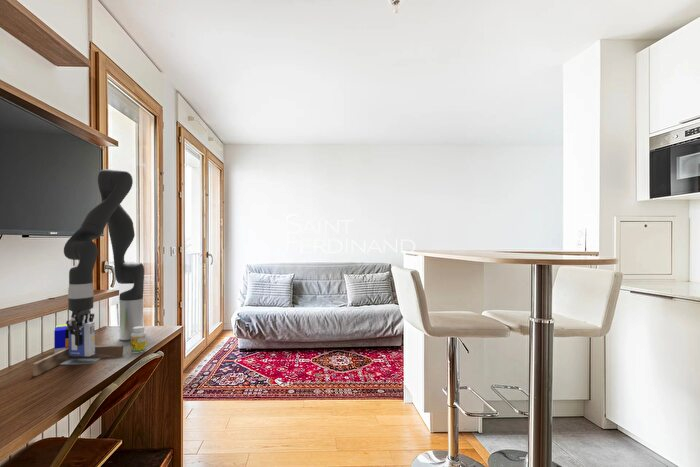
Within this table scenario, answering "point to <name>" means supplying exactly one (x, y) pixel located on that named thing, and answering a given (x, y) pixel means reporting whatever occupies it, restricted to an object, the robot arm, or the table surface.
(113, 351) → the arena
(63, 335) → the puzzle toy
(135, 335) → the supplement bottle
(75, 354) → the walkman
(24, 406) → the table surface
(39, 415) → the table surface
